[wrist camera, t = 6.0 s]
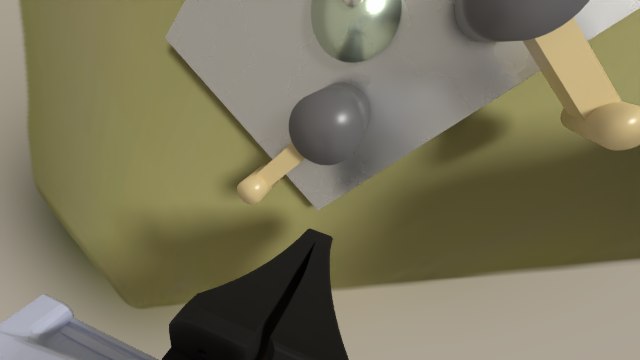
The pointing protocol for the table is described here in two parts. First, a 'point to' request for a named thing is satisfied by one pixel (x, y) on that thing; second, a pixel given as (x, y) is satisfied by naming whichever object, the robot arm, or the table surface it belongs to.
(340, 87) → the knob
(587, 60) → the knob
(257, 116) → the tribrach plate
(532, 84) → the table surface
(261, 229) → the table surface
